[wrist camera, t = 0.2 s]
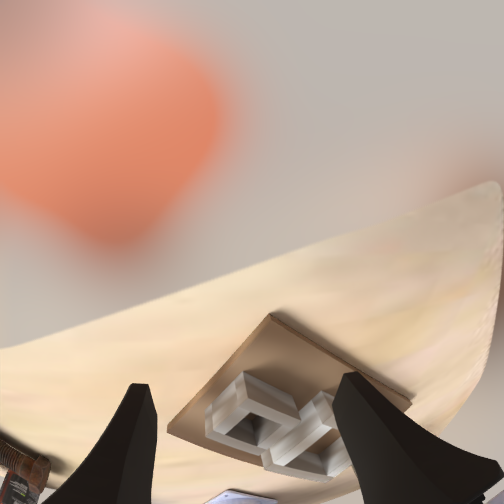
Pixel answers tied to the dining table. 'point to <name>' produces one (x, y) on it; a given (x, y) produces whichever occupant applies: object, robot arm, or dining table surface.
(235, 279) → the dining table surface
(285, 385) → the fitting board
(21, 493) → the supplement bottle
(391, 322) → the dining table surface
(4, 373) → the dining table surface
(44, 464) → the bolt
